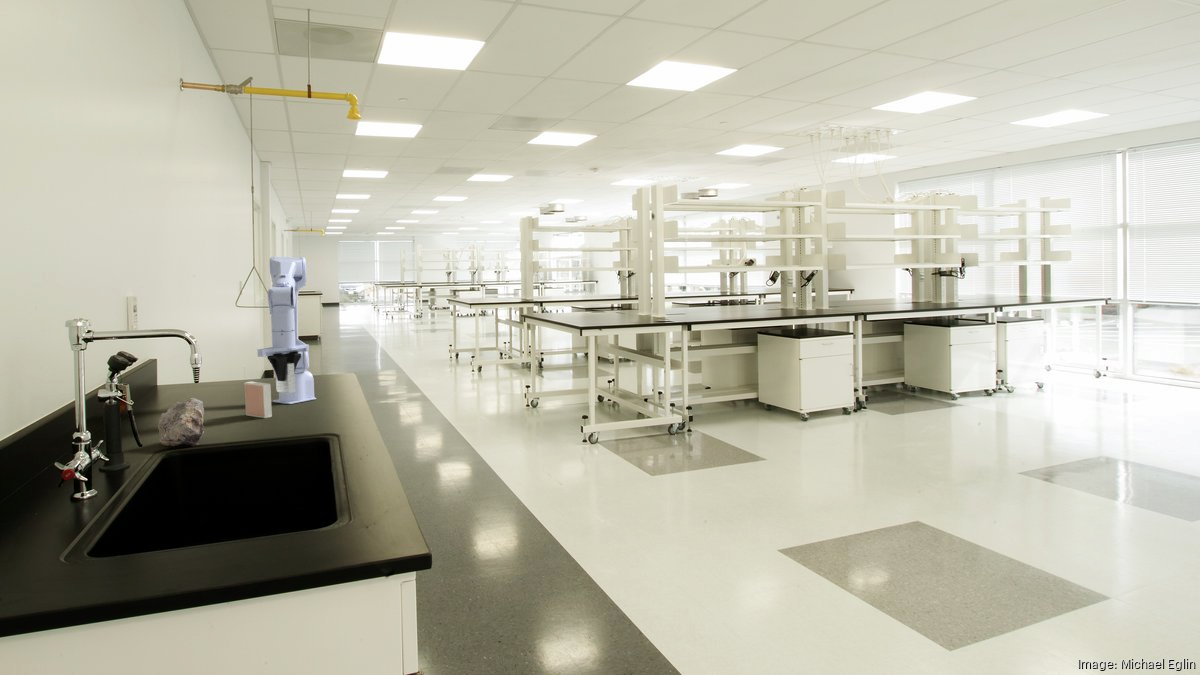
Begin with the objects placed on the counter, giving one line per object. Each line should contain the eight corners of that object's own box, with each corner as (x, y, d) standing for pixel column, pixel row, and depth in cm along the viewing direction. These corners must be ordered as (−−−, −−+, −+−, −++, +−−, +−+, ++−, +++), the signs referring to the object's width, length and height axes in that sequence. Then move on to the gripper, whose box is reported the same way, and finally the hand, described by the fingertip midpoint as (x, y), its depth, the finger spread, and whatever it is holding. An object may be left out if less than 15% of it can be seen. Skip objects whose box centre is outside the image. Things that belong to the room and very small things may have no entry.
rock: (155, 460, 143) (159, 431, 137) (156, 419, 150) (160, 390, 144) (203, 458, 148) (209, 430, 143) (202, 419, 155) (208, 391, 150)
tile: (252, 413, 178) (251, 381, 177) (271, 416, 175) (270, 383, 174) (245, 415, 176) (243, 382, 175) (264, 418, 173) (262, 385, 172)
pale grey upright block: (283, 390, 180) (281, 362, 179) (295, 392, 178) (293, 363, 177) (276, 391, 178) (275, 362, 178) (288, 393, 176) (287, 364, 175)
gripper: (269, 333, 168) (271, 385, 170) (315, 329, 181) (317, 377, 183) (251, 332, 172) (253, 383, 173) (298, 328, 184) (300, 375, 186)
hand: (285, 380), depth 178 cm, fingers closed on pale grey upright block, 2 cm apart
